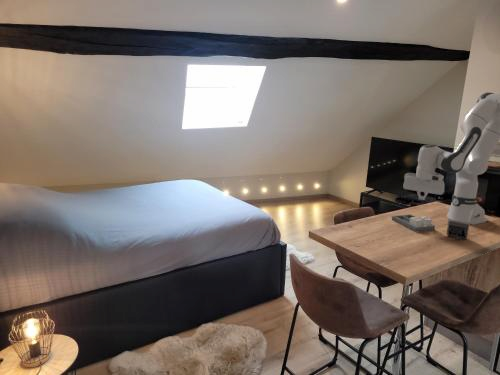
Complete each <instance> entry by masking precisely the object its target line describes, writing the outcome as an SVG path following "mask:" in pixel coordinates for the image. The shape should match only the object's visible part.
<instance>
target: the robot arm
mask: <svg viewBox="0 0 500 375" xmlns="http://www.w3.org/2000/svg"><path fill="white" fill-rule="evenodd" d="M460 129H461V131H462V133H463V135H464V137H463V139H462V140H461V142H460V143H459V145H458V146H457V148H456V149H455V150H454V151H453V152H450V151H446V150H444V149H442V148H440V147H439V146H437V145H436V144H431V143H429V144H424V145H422V146H421V147H420V149H419V152H418V156H417V166H416V173H414V172H407V173H405V174H404V177H403V178H404V179H403V180H404V182H403V186H402V187H403V189H404V190H409V191H415V192H416V193H417V196H418V200H420V201H425V200H426V197H427V196H428V194H432V195H440V196H441V195H443V194H444V193H445V182H444V177H445V176H444V175H443V174H440V173H438V172H436V169H437V168H438V169H440V170H442V171H444V172H446V173H447V174H451V175H454V174H455V176H456V177H455V186H454V192H453V194H452V196H451V197H452V198H451V204H450V207H449V210H448V212H447V214H446V218H447V219H449V220H455V221H461V222H466V223H469V224H470V225H474V226H475V225H479V224H483V223H487V222H486V221H488V222H490V219H489V218H488V217H486V216H485V215H486V212H485V209H484V208H483V207H482V206H481V205H480V204H479V203H478V202H482V198H481V197H477V194H478V189H479V188H478V187H479V181H478V176H479V175H482V174H484V173H485V172H486V171H487V170H488V168H489V162H490V159H491V156H492V154H493V151H494V150H495V148H496V147H497V145H498V144H499V142H500V94H498V93H494V92H485V93H483V94H481V95H480V96H479V97H478V98H477V101H476V102H475V104H474V105H473V106H472V107H471V108H470V110H469V111H468V112H467V113H466V114H465V115H464V116H463V118H462V120H461V122H460ZM421 193H424V194H423V195H422V194H421Z"/></svg>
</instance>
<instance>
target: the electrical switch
mask: <svg viewBox="0 0 500 375" xmlns="http://www.w3.org/2000/svg"><path fill="white" fill-rule="evenodd" d="M470 225H471V224H469V223H466V222H461V221H455V220H450V219H449V220H448V222H447V228H446V234H445V235H446V236H447V238H451V239H454V240H455V239H456V240H461V241H466V240H467V239H468V233H469V231H470V230H469V229H470Z"/></svg>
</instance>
